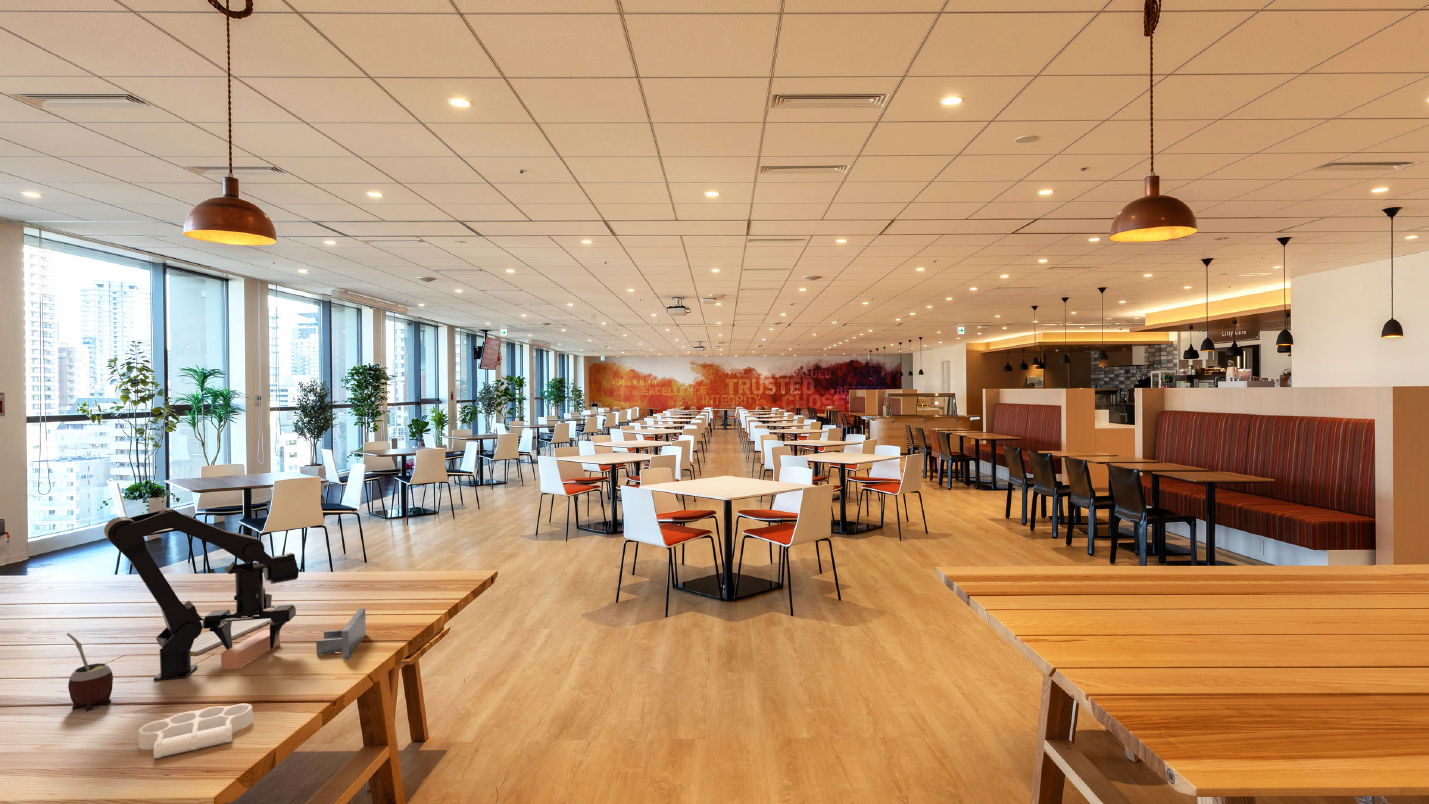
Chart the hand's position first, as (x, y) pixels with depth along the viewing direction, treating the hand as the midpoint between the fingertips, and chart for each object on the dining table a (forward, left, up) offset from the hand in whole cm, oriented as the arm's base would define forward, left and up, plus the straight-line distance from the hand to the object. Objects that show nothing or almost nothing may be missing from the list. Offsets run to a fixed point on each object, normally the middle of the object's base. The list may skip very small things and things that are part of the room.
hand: (251, 650), depth 180 cm
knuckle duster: (-43, -5, -2) cm, 43 cm away
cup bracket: (0, -20, -1) cm, 20 cm away
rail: (0, 0, -2) cm, 2 cm away
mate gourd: (-22, +23, -2) cm, 32 cm away
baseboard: (+21, +13, -2) cm, 25 cm away
